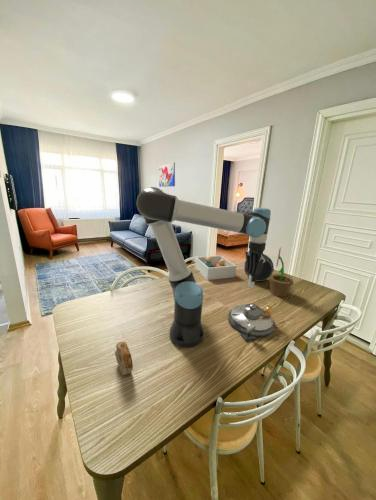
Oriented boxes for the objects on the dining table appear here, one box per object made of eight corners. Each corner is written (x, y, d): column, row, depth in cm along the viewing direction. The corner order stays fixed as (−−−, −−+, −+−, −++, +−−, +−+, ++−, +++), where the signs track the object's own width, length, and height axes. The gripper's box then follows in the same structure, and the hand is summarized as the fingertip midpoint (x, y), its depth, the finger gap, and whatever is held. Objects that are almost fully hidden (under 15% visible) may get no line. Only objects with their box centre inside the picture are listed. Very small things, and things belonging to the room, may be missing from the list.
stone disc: (135, 376, 71) (134, 353, 68) (124, 382, 69) (123, 357, 66) (124, 356, 79) (123, 334, 76) (114, 360, 77) (113, 338, 74)
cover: (249, 321, 98) (251, 311, 97) (239, 311, 105) (241, 302, 104) (263, 318, 101) (265, 308, 99) (253, 309, 108) (254, 300, 107)
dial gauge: (245, 341, 91) (248, 327, 88) (240, 335, 94) (242, 321, 92) (255, 339, 92) (257, 324, 90) (249, 333, 96) (252, 319, 94)
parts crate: (207, 280, 148) (208, 268, 146) (194, 267, 170) (195, 257, 167) (234, 276, 156) (236, 265, 154) (219, 265, 178) (220, 255, 175)
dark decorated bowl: (272, 284, 147) (277, 257, 141) (243, 280, 151) (246, 254, 145) (269, 278, 157) (274, 253, 151) (242, 275, 161) (245, 250, 155)
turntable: (235, 330, 94) (237, 318, 92) (227, 306, 113) (228, 295, 111) (279, 332, 94) (282, 320, 92) (264, 307, 113) (266, 297, 111)
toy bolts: (226, 269, 171) (228, 254, 167) (225, 277, 155) (227, 261, 151) (204, 266, 174) (205, 252, 170) (201, 274, 158) (202, 258, 154)
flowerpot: (267, 286, 145) (275, 244, 136) (290, 291, 139) (300, 248, 130) (265, 294, 132) (273, 249, 123) (290, 301, 126) (300, 254, 118)
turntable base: (244, 341, 90) (245, 338, 90) (220, 313, 110) (220, 309, 109) (284, 332, 98) (285, 328, 97) (254, 307, 118) (255, 304, 117)
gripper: (274, 244, 94) (265, 291, 101) (255, 237, 105) (248, 280, 112) (260, 245, 91) (253, 293, 98) (242, 238, 102) (237, 282, 109)
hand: (250, 286), depth 105 cm, fingers closed
